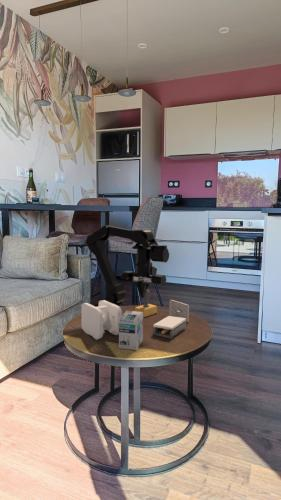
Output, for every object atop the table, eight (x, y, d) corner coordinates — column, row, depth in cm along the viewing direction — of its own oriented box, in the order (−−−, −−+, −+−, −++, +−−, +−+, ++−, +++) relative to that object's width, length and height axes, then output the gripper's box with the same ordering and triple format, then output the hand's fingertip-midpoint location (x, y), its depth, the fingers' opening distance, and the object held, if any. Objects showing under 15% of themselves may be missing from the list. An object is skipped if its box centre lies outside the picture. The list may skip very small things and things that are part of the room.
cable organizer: (79, 330, 132) (80, 301, 131) (102, 325, 138) (103, 298, 137) (98, 342, 120) (98, 311, 119) (122, 336, 126) (123, 306, 125)
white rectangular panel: (153, 326, 129) (153, 324, 129) (168, 317, 141) (168, 315, 141) (172, 329, 125) (172, 327, 125) (186, 320, 137) (186, 318, 137)
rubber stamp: (143, 317, 150) (144, 291, 149) (134, 315, 154) (134, 289, 153) (157, 313, 158) (158, 288, 157) (148, 310, 161) (148, 286, 160)
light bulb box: (137, 350, 113) (137, 320, 112) (117, 348, 114) (118, 318, 113) (143, 339, 124) (143, 311, 123) (125, 337, 125) (126, 309, 124)
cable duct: (153, 334, 129) (153, 327, 129) (168, 324, 141) (168, 318, 141) (171, 338, 125) (172, 331, 125) (185, 328, 137) (186, 321, 137)
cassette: (189, 322, 146) (190, 305, 145) (186, 322, 145) (187, 305, 144) (171, 315, 155) (171, 299, 155) (168, 315, 154) (168, 299, 154)
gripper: (172, 260, 139) (171, 296, 141) (134, 256, 148) (133, 290, 150) (160, 263, 129) (159, 302, 131) (120, 259, 139) (119, 295, 140)
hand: (142, 297), depth 138 cm, fingers closed
